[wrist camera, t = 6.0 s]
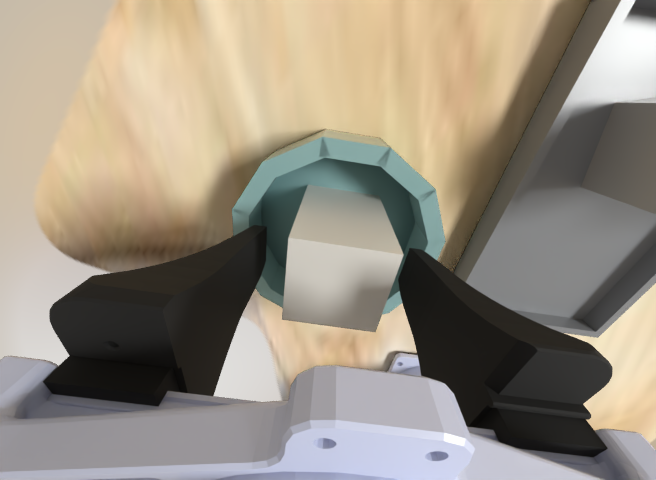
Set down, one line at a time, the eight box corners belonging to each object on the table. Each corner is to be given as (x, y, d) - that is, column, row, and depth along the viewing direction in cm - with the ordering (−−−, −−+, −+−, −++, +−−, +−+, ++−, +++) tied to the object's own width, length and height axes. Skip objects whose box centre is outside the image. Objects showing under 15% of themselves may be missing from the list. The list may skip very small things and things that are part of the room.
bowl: (395, 298, 18) (404, 331, 16) (252, 278, 18) (237, 309, 15) (452, 149, 13) (481, 162, 10) (250, 116, 12) (226, 120, 10)
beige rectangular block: (363, 255, 16) (375, 332, 10) (301, 245, 15) (282, 319, 10) (379, 195, 14) (403, 254, 8) (308, 184, 13) (288, 237, 8)
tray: (579, 320, 19) (597, 337, 17) (438, 301, 18) (446, 316, 17) (850, 35, 10) (925, 26, 9) (598, -14, 10) (638, -32, 8)
